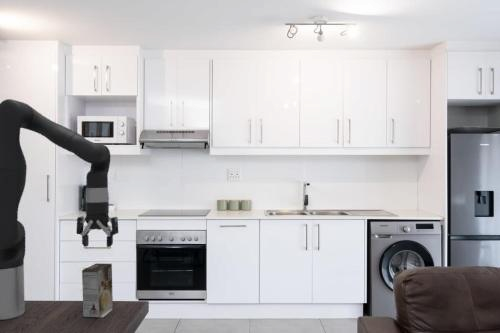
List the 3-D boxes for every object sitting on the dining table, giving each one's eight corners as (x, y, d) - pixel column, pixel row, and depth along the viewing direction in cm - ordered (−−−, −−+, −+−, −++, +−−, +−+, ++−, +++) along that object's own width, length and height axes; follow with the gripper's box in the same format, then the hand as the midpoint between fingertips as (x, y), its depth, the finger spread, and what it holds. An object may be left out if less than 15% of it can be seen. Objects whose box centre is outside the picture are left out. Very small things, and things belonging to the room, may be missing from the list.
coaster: (83, 316, 131) (83, 315, 131) (94, 309, 138) (94, 307, 138) (103, 317, 131) (103, 316, 131) (112, 309, 138) (112, 308, 138)
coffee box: (97, 306, 140) (96, 262, 140) (113, 307, 139) (112, 263, 139) (82, 316, 131) (81, 269, 130) (99, 317, 130) (98, 270, 129)
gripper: (72, 201, 131) (72, 248, 131) (111, 201, 130) (112, 249, 130) (83, 199, 138) (84, 243, 139) (121, 199, 137) (121, 244, 137)
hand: (97, 246), depth 134 cm, fingers open, 8 cm apart
